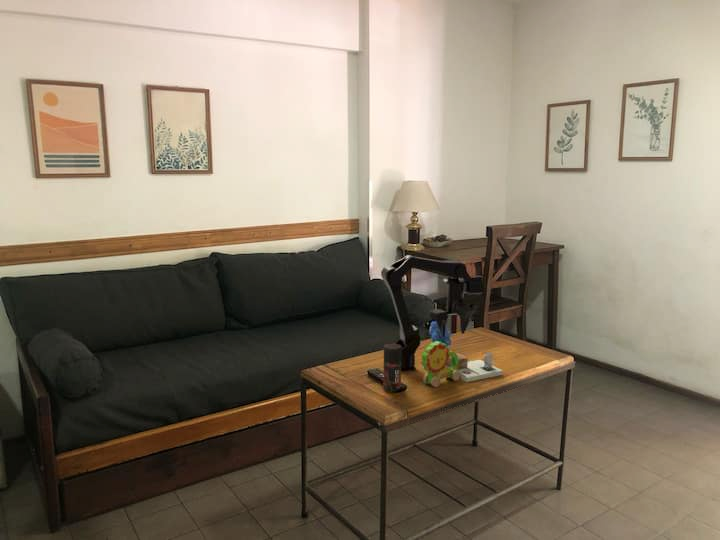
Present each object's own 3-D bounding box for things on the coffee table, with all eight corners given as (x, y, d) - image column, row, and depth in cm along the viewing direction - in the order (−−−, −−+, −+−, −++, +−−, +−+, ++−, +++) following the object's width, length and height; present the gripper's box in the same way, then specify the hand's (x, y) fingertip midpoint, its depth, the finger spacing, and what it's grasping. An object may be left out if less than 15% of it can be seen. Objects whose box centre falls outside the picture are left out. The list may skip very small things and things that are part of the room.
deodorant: (390, 383, 202) (390, 342, 199) (404, 388, 199) (405, 345, 196) (379, 388, 198) (380, 346, 195) (393, 393, 194) (394, 350, 191)
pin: (487, 374, 211) (488, 356, 210) (481, 372, 214) (482, 353, 213) (493, 373, 213) (494, 355, 211) (488, 370, 215) (489, 352, 214)
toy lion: (450, 375, 210) (452, 335, 208) (461, 380, 206) (463, 339, 203) (417, 385, 201) (418, 343, 198) (428, 390, 197) (429, 347, 194)
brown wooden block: (453, 369, 211) (454, 360, 210) (444, 364, 216) (444, 355, 215) (467, 367, 213) (467, 357, 213) (457, 361, 219) (457, 353, 218)
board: (466, 382, 204) (466, 376, 204) (445, 370, 216) (445, 365, 215) (502, 374, 211) (502, 369, 211) (479, 363, 223) (480, 358, 222)
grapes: (422, 347, 242) (422, 319, 240) (433, 344, 246) (434, 316, 244) (443, 354, 233) (444, 325, 231) (454, 351, 237) (455, 322, 235)
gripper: (448, 301, 205) (446, 344, 208) (489, 296, 214) (486, 337, 217) (430, 295, 215) (428, 335, 218) (469, 290, 224) (467, 329, 227)
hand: (453, 334), depth 220 cm, fingers open, 9 cm apart
